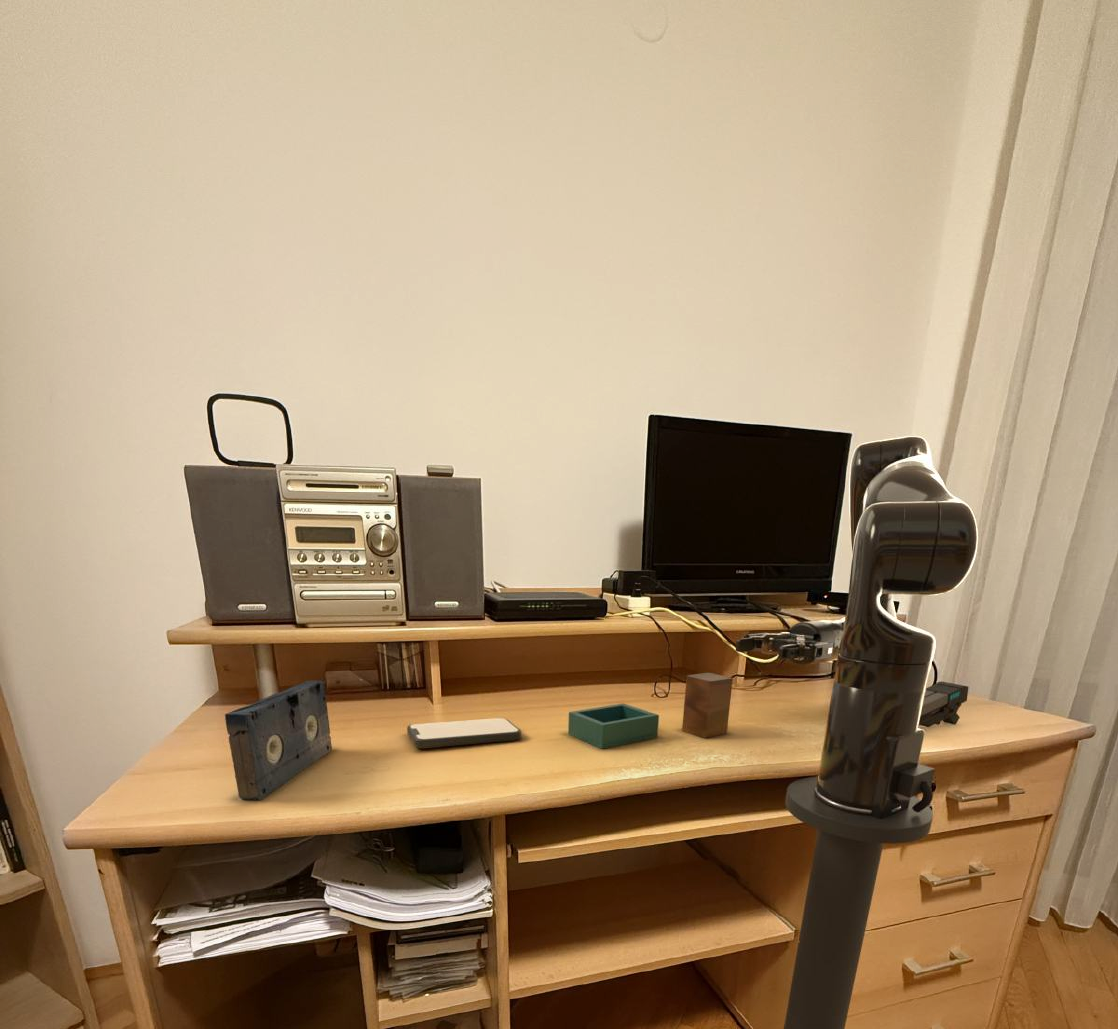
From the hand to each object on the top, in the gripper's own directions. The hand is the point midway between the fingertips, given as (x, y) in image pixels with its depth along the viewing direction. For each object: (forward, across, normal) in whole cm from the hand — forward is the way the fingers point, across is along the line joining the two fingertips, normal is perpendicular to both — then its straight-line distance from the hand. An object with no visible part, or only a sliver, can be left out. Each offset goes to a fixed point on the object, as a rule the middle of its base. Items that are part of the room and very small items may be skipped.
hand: (758, 649), depth 97 cm
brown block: (+11, 0, +12) cm, 17 cm away
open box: (+25, -6, +12) cm, 29 cm away
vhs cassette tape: (+70, -15, +12) cm, 73 cm away
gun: (-20, +18, +13) cm, 30 cm away
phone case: (+45, -17, +12) cm, 50 cm away
